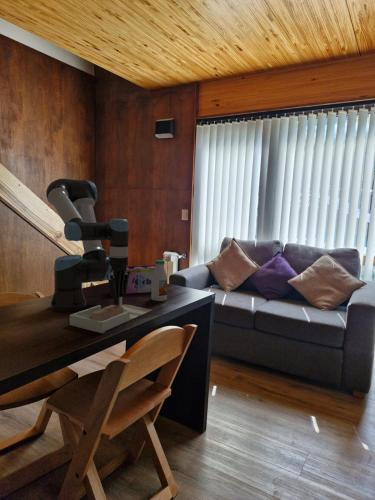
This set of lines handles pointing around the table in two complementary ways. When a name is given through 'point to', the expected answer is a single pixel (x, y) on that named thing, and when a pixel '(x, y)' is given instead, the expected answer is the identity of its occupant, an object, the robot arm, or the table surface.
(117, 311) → the tile back
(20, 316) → the table surface
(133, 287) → the gum box
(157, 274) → the milk bottle
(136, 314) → the board
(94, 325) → the tray
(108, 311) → the tile front
